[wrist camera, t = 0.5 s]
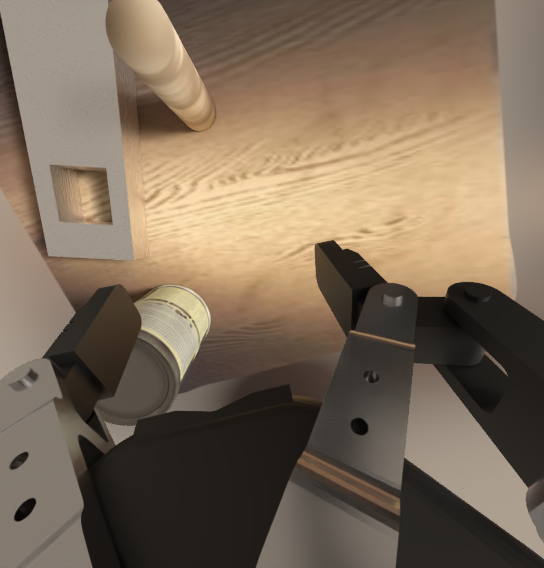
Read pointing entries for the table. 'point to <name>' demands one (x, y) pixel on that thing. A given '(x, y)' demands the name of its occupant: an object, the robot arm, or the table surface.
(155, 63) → the peg
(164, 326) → the coffee can
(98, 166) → the block
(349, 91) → the table surface
